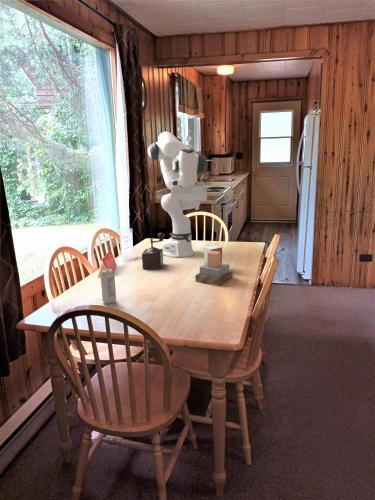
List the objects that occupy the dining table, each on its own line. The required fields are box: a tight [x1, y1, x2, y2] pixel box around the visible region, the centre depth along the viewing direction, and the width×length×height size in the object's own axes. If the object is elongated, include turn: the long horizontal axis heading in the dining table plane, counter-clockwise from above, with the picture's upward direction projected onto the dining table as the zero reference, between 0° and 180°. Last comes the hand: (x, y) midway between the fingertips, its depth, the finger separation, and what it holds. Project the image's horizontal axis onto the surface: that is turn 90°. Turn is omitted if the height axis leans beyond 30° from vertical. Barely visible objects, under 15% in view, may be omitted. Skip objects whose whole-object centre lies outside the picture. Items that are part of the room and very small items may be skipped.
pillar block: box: [207, 251, 221, 268], centre depth 205 cm, size 5×5×7 cm
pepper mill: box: [141, 232, 165, 270], centre depth 232 cm, size 16×11×18 cm
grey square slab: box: [199, 262, 230, 278], centre depth 206 cm, size 11×11×4 cm
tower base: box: [194, 270, 234, 287], centre depth 207 cm, size 14×14×4 cm
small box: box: [203, 244, 223, 265], centre depth 221 cm, size 8×6×13 cm
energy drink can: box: [100, 268, 117, 304], centre depth 181 cm, size 6×6×15 cm
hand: (189, 208), depth 209 cm, fingers open, 8 cm apart
